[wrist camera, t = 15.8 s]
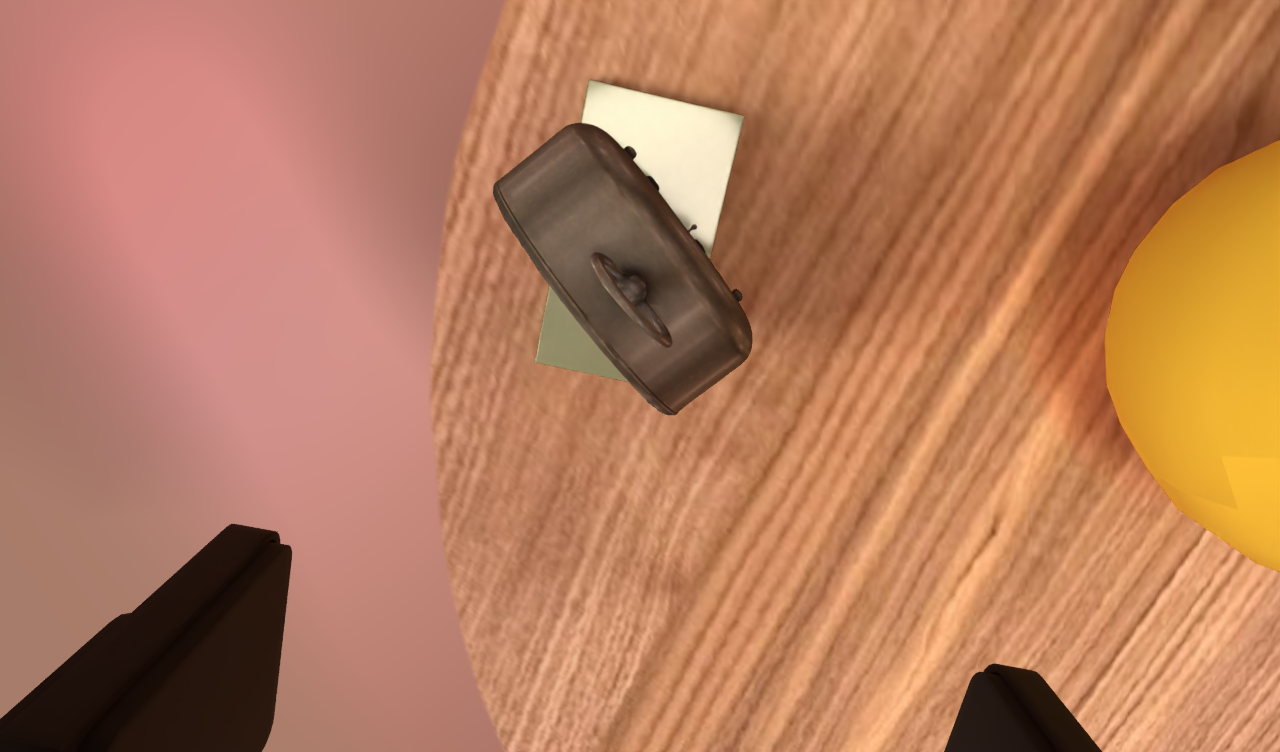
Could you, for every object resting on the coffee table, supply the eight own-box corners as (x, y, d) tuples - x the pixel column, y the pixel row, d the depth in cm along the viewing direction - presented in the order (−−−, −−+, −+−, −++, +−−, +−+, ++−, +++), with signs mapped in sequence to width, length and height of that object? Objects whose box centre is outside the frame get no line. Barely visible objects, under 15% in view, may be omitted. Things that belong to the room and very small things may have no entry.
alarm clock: (511, 185, 35) (416, 206, 20) (607, 108, 35) (586, 67, 19) (658, 372, 38) (677, 524, 22) (751, 304, 37) (838, 413, 21)
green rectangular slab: (676, 388, 39) (677, 392, 38) (536, 358, 38) (534, 362, 38) (742, 116, 36) (745, 115, 35) (589, 80, 35) (588, 79, 34)
